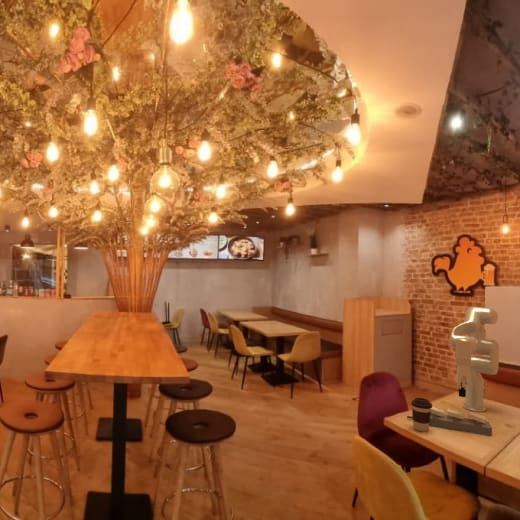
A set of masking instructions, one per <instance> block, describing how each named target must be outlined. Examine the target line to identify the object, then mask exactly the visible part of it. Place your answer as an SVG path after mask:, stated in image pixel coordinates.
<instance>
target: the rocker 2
mask: <svg viewBox="0 0 520 520" xmlns="http://www.w3.org/2000/svg"><path fill="white" fill-rule="evenodd" d="M467 411H468V413H467V418H468V419H474V420H476V421H479V422H482V423H484V424H486V421H487V418H486V416H484V415H481V414H478V413H474V412H473V411H471V410H467Z"/></svg>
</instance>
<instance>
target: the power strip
mask: <svg viewBox="0 0 520 520" xmlns="http://www.w3.org/2000/svg"><path fill="white" fill-rule="evenodd" d="M406 418H407V419H410V420H411V419H412V420H413V416H411V415H407V416H406ZM429 427H435V428H439V429H445V430H452V431H456V432H457V431H458V432H464V433H469V434H476V435H480V436H487V437H492V436H493V428H492V425H491V424H490V422H489V421H487V420H486V424H484V423H482V422H479V421H476V420H474V419H471V418H469V417H464V419H460V418H456V417H452V416H448V415H447V414H443V417H441V416H439V415H436V414H433V413H431V415H430V423H429Z"/></svg>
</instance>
